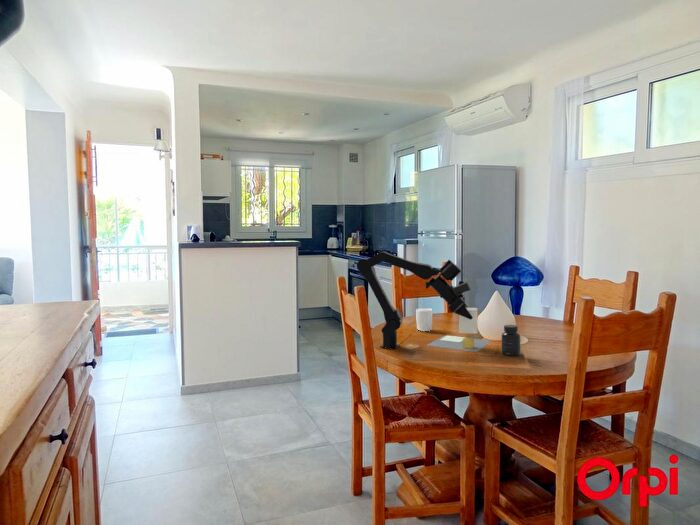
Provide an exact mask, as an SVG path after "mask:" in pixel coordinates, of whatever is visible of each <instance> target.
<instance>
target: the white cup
mask: <svg viewBox="0 0 700 525" xmlns="http://www.w3.org/2000/svg"><path fill="white" fill-rule="evenodd" d="M415 316H416V317H415V318H416V319H415V320H416V330H417V329H418V330H421V331H429V332H431V331H432V330H433V329H432V327H433V309H432V308H426V307H425V308H424V307H422V308H421V307H420V308H416V309H415ZM418 330H417V331H418ZM430 330H431V331H430Z"/></svg>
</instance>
